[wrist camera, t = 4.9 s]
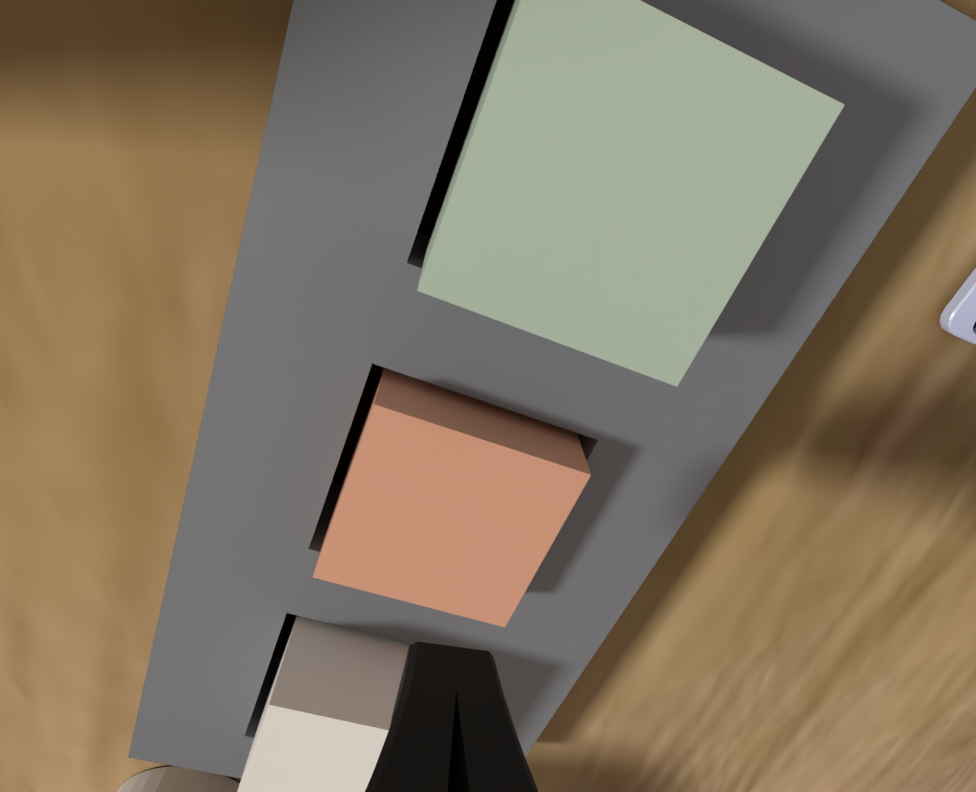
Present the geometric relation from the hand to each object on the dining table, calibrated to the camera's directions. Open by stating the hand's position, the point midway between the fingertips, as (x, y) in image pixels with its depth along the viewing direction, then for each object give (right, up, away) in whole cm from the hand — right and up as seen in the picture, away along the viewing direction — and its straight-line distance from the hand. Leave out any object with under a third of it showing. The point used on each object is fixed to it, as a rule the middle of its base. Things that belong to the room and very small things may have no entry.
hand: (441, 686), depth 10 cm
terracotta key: (0, +4, +7) cm, 8 cm away
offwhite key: (-3, -4, +9) cm, 10 cm away
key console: (0, +4, +7) cm, 8 cm away
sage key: (+3, +10, +3) cm, 11 cm away
